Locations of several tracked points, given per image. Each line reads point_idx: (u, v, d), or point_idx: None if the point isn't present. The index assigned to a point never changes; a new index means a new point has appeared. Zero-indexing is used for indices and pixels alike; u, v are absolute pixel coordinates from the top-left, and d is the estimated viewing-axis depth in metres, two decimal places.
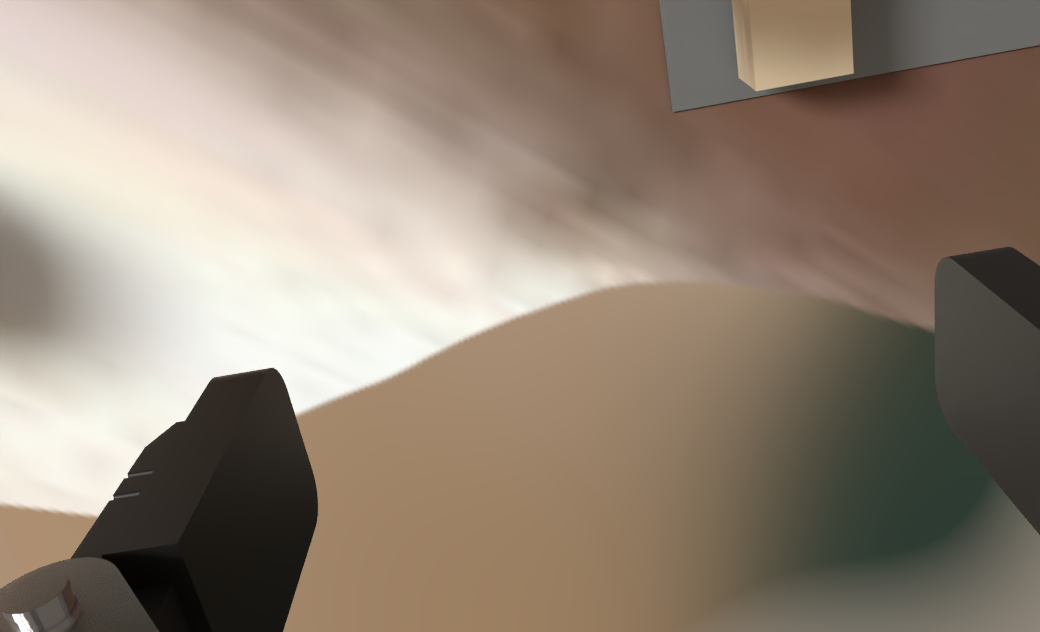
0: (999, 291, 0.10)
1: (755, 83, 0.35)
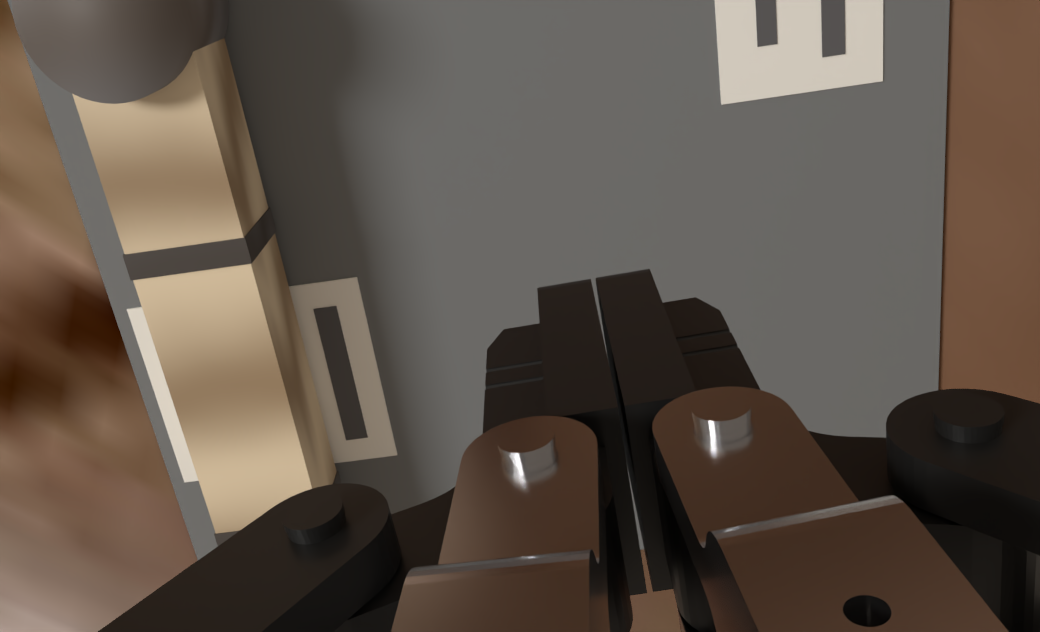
0: (609, 310, 0.11)
1: None
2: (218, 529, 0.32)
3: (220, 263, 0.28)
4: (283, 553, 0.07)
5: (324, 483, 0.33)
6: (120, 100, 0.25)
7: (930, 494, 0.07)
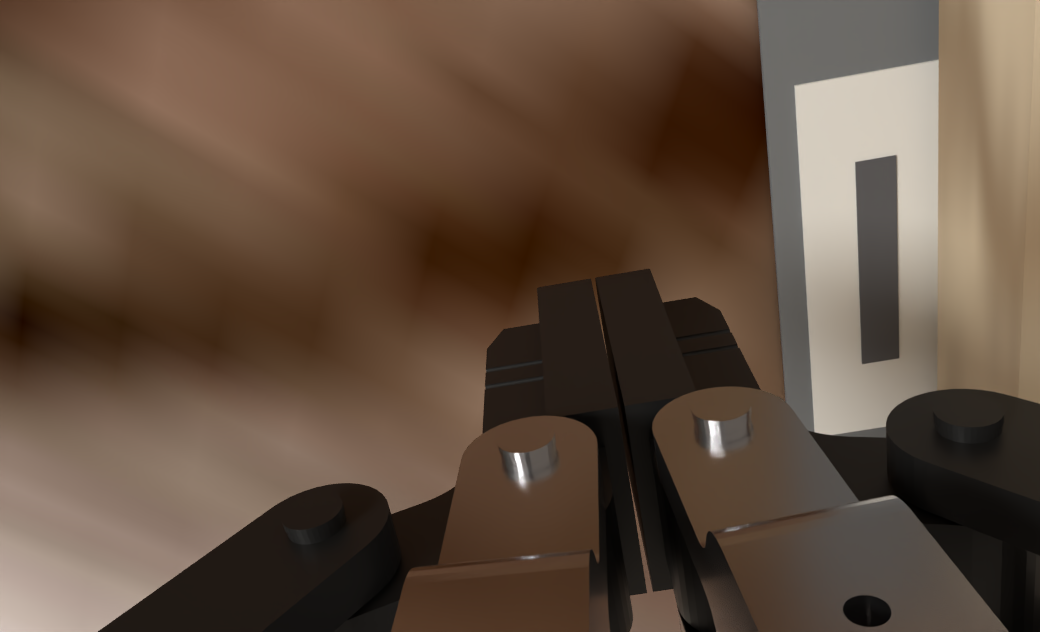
0: (609, 309, 0.11)
1: None
2: None
3: None
4: (283, 553, 0.07)
5: None
6: None
7: (930, 494, 0.07)
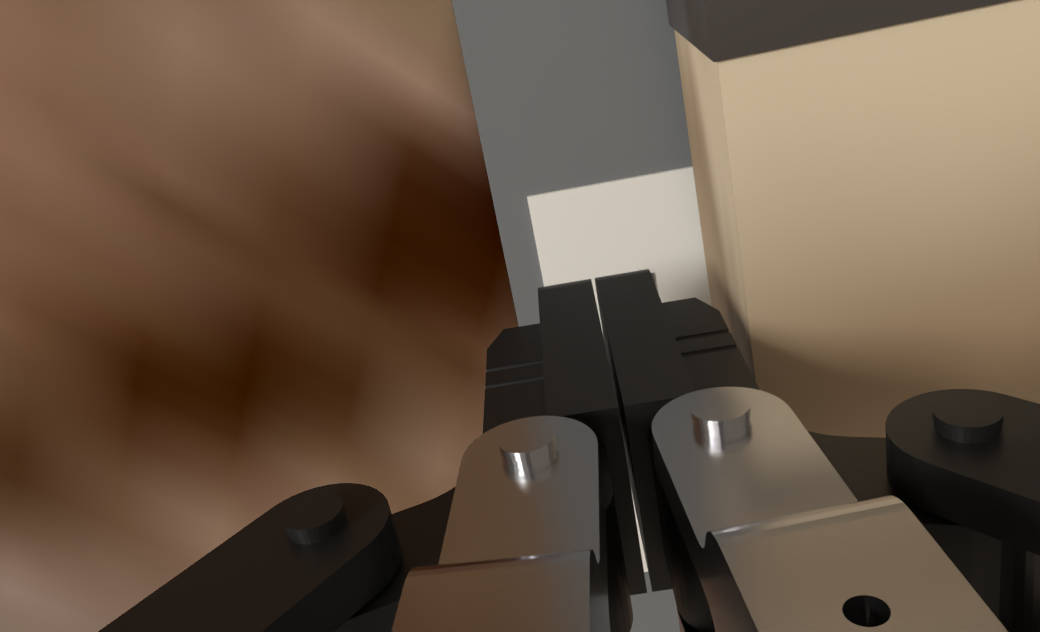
0: (608, 310, 0.11)
1: None
2: None
3: None
4: (283, 553, 0.07)
5: None
6: None
7: (929, 495, 0.07)
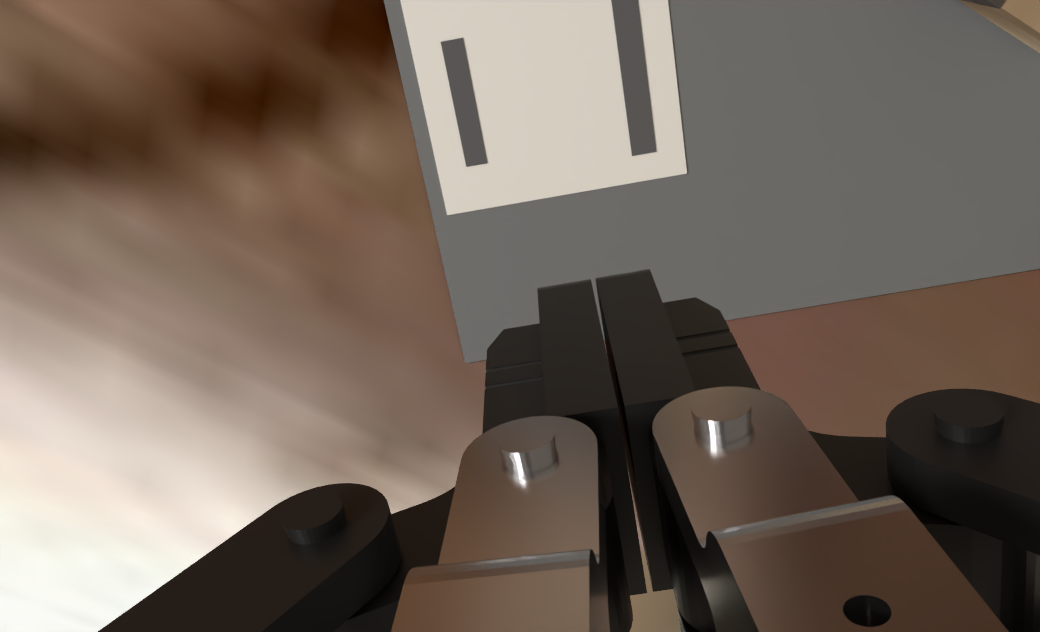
0: (609, 309, 0.11)
1: None
2: None
3: None
4: (283, 553, 0.07)
5: None
6: None
7: (930, 494, 0.07)
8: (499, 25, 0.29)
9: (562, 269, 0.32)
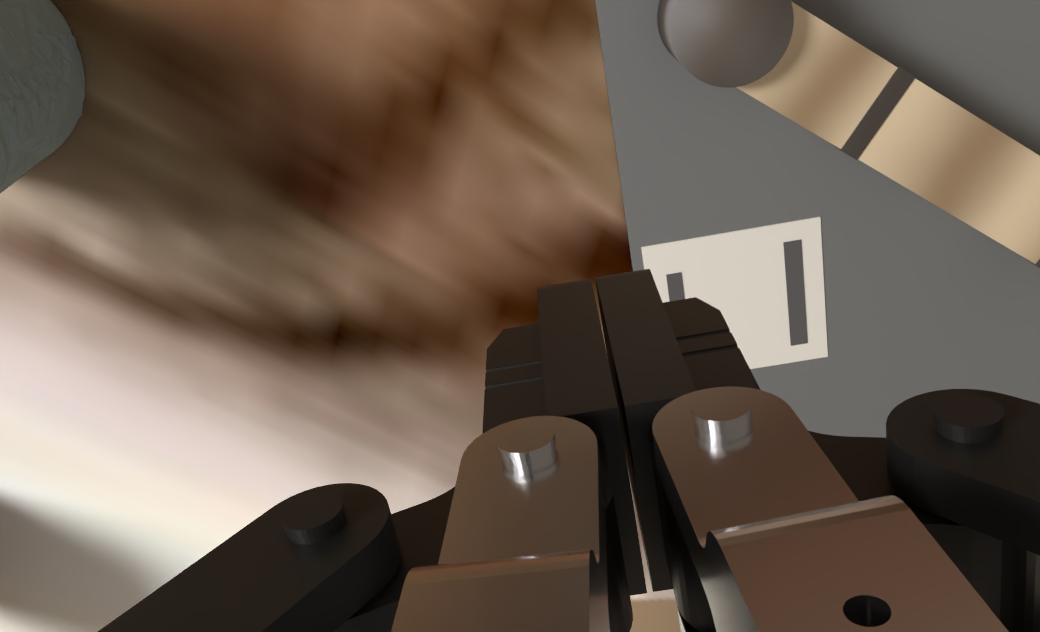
0: (609, 309, 0.11)
1: None
2: (1034, 259, 0.39)
3: (897, 96, 0.37)
4: (283, 553, 0.07)
5: None
6: (778, 58, 0.35)
7: (930, 494, 0.07)
8: (706, 264, 0.43)
9: None
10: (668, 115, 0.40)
